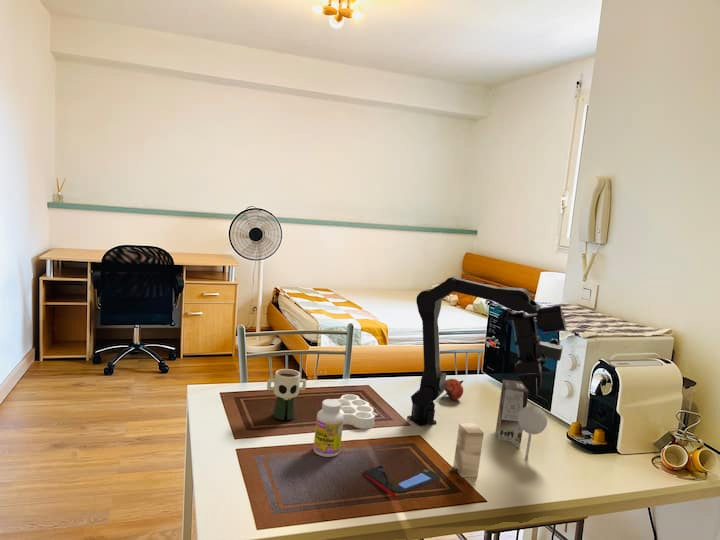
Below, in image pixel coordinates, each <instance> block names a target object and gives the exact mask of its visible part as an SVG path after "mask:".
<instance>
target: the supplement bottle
mask: <svg viewBox="0 0 720 540" xmlns="http://www.w3.org/2000/svg"><path fill="white" fill-rule="evenodd" d="M334 399H335V398H333V399H332V398H327V399H324V400H323V401H322V402H321V403H322V404H321V409H320V410H318V412H317V414H316V421H315V429H314V430H315V431H314V439H313V452H314V453H315V454H317V455H318V456H320V457H324V458H332V457H336V456H337V455H339V453H340V450H341V444H342V435H343V428H344V427H343V426H344V425H343V419H344V417H343V414H342V413H341V412H340V409H341V402H340V401H338V400H334Z"/></svg>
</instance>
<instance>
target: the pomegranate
mask: <svg viewBox="0 0 720 540" xmlns="http://www.w3.org/2000/svg"><path fill="white" fill-rule="evenodd" d="M463 382H464V380H463V379H462V380H460V381H459V380H458V379H456V378H448V379H446V384H447V386H446V387H445V389H444V391H445V392H446V393H445V394H444V395H443V396H442V397H440V398H442V399H443V398H445V397H446V396H447V397H449V398H450V397H451V398H450V399H452V400H453V401H457V400H459V399H460V398H462V396H463V394H464V387H463V384H462V383H463Z"/></svg>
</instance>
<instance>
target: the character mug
mask: <svg viewBox="0 0 720 540" xmlns="http://www.w3.org/2000/svg"><path fill="white" fill-rule="evenodd" d="M274 372H275V373H274V378H269V379H268V380H267V383H266V386H267V387H266V389H267V390H268V391H273V394H274V395H275V397H276V399H275V403H274V408H273V412H272V415H273V416H274V418H275V419H277V420H281V421H282V420H283V421H284V420H285V418H287V420H292V419H294V418H295V417H296V401H295V400H296V399H295V398H296V397H297V396H298V395H299V393H300V392H299V391H305V390H306V387H307V379H306V378H301V372H299V371H297V370H295V369H290V368H282V369H278V370H276V371H274ZM272 383H273V386H272ZM300 383H302V386H300V385H301V384H300Z"/></svg>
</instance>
